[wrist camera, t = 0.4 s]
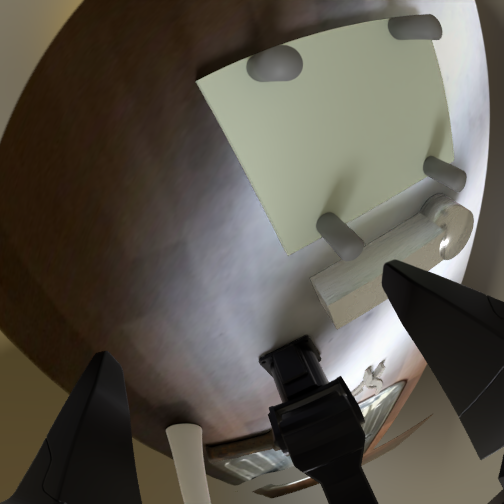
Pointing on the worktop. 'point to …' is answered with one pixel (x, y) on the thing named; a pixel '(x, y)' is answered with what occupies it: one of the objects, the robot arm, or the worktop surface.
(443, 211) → the round-ended glossy bar
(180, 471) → the cosmetic bottle
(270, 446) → the hand tool
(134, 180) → the worktop surface
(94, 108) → the worktop surface
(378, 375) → the pliers
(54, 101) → the worktop surface
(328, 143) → the peg board
